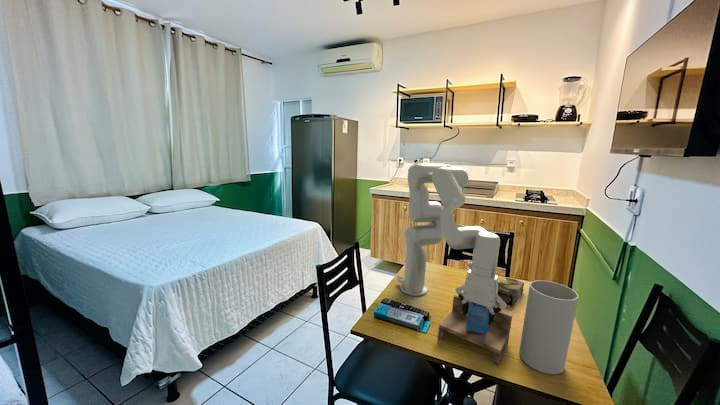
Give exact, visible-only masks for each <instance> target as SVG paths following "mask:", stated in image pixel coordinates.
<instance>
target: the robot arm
mask: <svg viewBox="0 0 720 405" xmlns="http://www.w3.org/2000/svg"><path fill="white" fill-rule="evenodd" d="M468 183H469V174H468V172H467V170H466V169H465V168H463V167H461V166H456V165H451V164H446V163H417V164H414V165H412V166H411V167H410V168H409V170H408V172H407V185H408V187H409V188H408V190H409V198H408V200H409V202H408V203H409V204H408V205H409V206H408V216H409V220H410V221H411V222H413V223H427V224H415V225H410V226H408V227H407V228H406V229H405V231H404V241H405V261H404V275H403V276H401V275H398V276H397V280H396V281H397V282H399V283H401V284H400V287H399V289H400V292H402V293H404V294H405V295H408V296H412V297H422V296H425V295H426V294H427V293H428V287H427V286H426V285H425V282H426V281H425V278H426V268H427V267H426V266H427V253H426V251H425V249H424V246H434V245H438V244H439V243H441V242H442V241H443V238H444V240H445V242H446V244H448V246H449V247H450V248H451V249H452V250H453V249H454V250H465V249H467V250H468V249H473V252H472V259H471V262H469V261H467V263H466V266H467V267H469V269H468V270H467V274H466V277H465V280H464V285H461V286H457V287H456V288H455V291H456V295H457V296H458V297H459V298H460V299H461V301H462V304H463V305H462V311H463V315H466V313H467V312H468V306H469V301H471V302H473V303H476V304H479V305H482V306H485V307H488V308H489V310H490V313H489V320H488V325H490V324H491V322H494V318H495V314H496V313H498V312H500V311H503V310H505V309H506V308H507V306H508V304H507V302H505V301H504V300H503V299H502V298H501V297H500V296H499V292H498V282H499V278H498V275H497V266H498V262H499V260H498V259H499V255H500V254H499V251H500V247H501V238H500V236H499V235H498V234H496V233H494V232H489V231H487V229H485V228H483V227H482V226H480V225H470V226H469V225H468V226H467V225H466V226H457V225H456V222H455V220H454V216H453V214H454V211H456V210H457V209H459V208H461V207H462V206H463V205H464V204H465V202H466V198H467V197H466V196H465V193H464V191H463V190H462V189H463V188H464V187H466V186H467V185H468ZM426 184H433V187H434V189H435V191H436V193H437V194H438V195H437V196H438V197H439V200H440V202H441V203H440V202H439V201H437V200H436V201H434V200H429V197H430V192H429V189H428V187H427V186H426ZM470 268H471V269H470ZM496 303H498V304H499V305H498V306H497V307H496Z"/></svg>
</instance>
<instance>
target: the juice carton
mask: <svg viewBox="0 0 720 405" xmlns="http://www.w3.org/2000/svg"><path fill="white" fill-rule="evenodd" d="M524 287H525V282H523V281H521V280H517V279H516V278H515V279H514V278H511V277H506V276H504V277H503V278H501V279H500V280H498V293H501V294H502V293H503V295H506V296H507V295H508V296H509V298H510V299H509V301H508V302H506V304H507V306H509V307H512V306H514V305H515V303H517V301H518V300H519V298H520V296H521V295H522V294H523V292H524Z"/></svg>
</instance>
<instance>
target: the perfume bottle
mask: <svg viewBox="0 0 720 405" xmlns="http://www.w3.org/2000/svg"><path fill="white" fill-rule="evenodd" d="M488 320H489V315H488V308H487V307H485V306H482V305H479V304H476V303H473V302H470V303H469V306H468V313H467V330H469V331H473V332H477V333H482V334H487V327H488Z"/></svg>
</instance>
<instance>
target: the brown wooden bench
mask: <svg viewBox="0 0 720 405" xmlns="http://www.w3.org/2000/svg"><path fill="white" fill-rule="evenodd" d="M470 302H471V301H469V303H470ZM462 305H463V304H462V301H461V299H460V298H459V297H458V295H457V294H454V295H453V301H452V308H451V309H452V310H451V311H450V312H449V313H448V314H447V315H446V316H445V317H444V319H443V320H442V321H440V323H439V325H438V335H437V339H438V340H441V341H443V340H444V339H445V338H446V337H447V336H448V335H449V334H450V333H451V334H453V335H455V336H458V337H460V338H462V339H464V340H467V341H469V342H471V343H473V344H475V345H478V346H481V348H485V349H488V350H489V351H492V352H493V359H492V365H494V366H496V367H499V365H500V362H502V361H501V360H502V359H503V356H504V354H505V352H506V350H507V348H508V347H509V346H508V345H509V342H510V341H509V340H510V333H511V326H512V321H513V320H512V319H513V314H510V313H508V312H505V311H503V310H501V311H500V312H498V313H496V314H495V318H494V322H491V324H490V325H488V327H487V334H482V333H477V332H473V331H469V330H467V313H468V312H467V313H466V315H463V311H462ZM487 308H488V307H487ZM489 313H490V310H489V308H488V315H489Z"/></svg>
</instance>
